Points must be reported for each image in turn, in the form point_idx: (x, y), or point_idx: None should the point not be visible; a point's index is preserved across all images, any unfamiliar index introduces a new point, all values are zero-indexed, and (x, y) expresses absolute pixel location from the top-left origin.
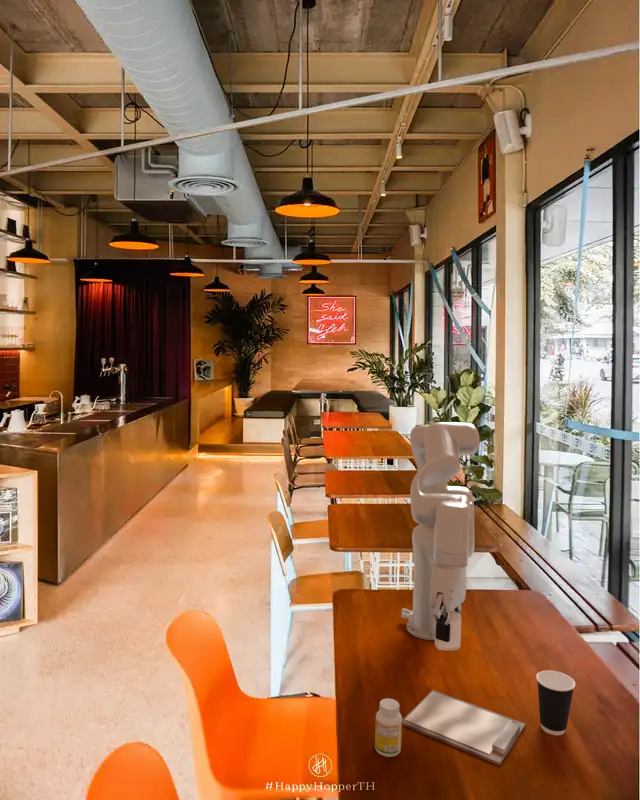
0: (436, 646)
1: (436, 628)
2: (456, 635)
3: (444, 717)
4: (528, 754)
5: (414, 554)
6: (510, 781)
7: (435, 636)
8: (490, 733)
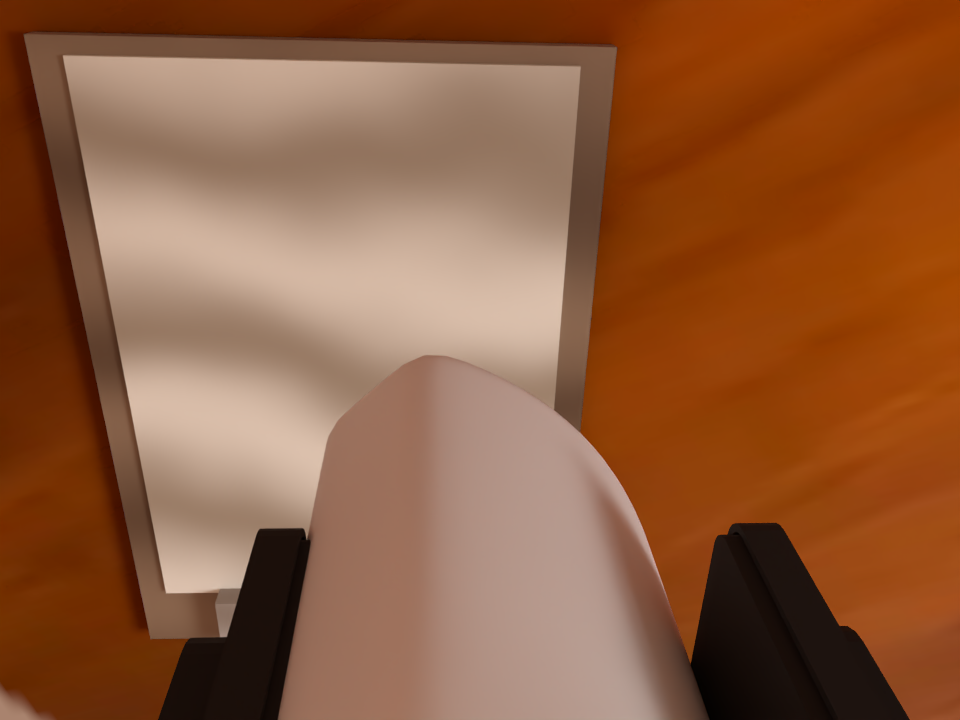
0: (335, 425)
1: (222, 681)
2: None
3: (303, 287)
4: None
5: None
6: (90, 684)
7: (254, 541)
8: None
